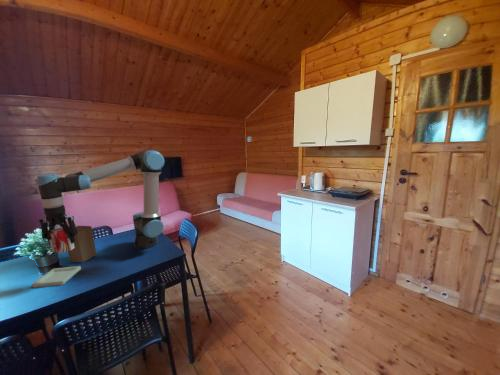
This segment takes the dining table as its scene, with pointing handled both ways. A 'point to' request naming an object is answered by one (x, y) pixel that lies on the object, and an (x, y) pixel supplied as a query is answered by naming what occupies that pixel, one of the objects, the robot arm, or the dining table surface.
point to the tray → (56, 277)
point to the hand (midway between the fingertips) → (63, 249)
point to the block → (83, 245)
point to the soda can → (59, 240)
